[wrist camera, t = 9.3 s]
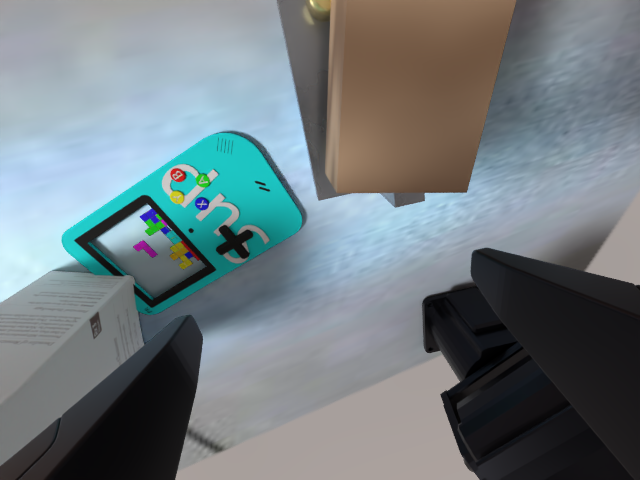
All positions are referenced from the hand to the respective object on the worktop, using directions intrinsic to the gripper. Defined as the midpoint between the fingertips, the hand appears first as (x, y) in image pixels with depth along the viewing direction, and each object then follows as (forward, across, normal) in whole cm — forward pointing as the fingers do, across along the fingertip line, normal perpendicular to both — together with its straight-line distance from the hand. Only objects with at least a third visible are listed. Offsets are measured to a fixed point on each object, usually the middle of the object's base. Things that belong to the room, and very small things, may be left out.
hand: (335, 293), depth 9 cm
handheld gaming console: (+13, +9, +1) cm, 16 cm away
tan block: (+8, -5, -6) cm, 12 cm away
